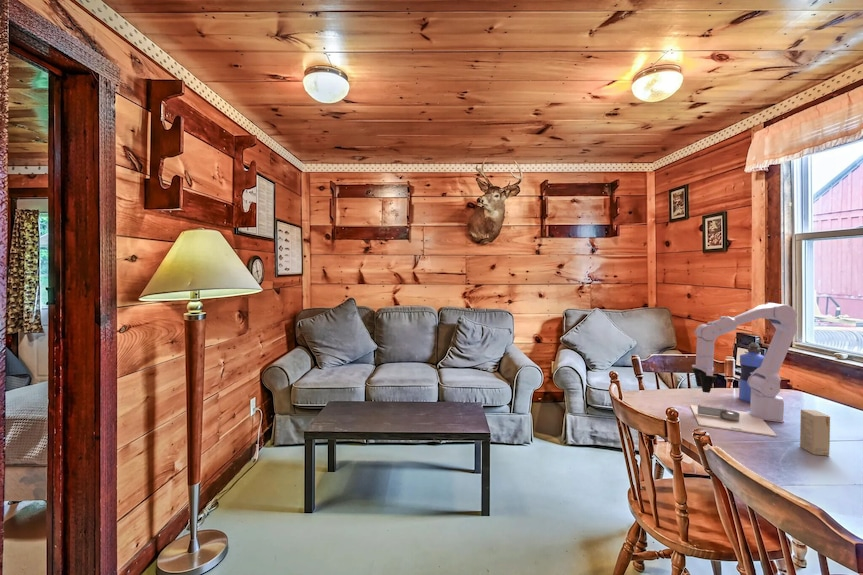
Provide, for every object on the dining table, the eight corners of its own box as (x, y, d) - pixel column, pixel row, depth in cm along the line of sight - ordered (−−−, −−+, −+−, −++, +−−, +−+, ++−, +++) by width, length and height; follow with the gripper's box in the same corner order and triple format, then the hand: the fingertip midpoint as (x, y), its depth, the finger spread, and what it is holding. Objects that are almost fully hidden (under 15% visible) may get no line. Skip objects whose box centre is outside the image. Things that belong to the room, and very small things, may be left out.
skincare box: (830, 456, 120) (832, 417, 120) (813, 455, 121) (815, 416, 120) (814, 446, 127) (816, 409, 126) (798, 445, 127) (800, 408, 127)
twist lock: (737, 416, 150) (737, 408, 150) (741, 422, 145) (741, 413, 145) (696, 411, 156) (696, 403, 156) (698, 416, 150) (699, 408, 150)
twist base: (757, 414, 154) (757, 413, 154) (776, 436, 134) (776, 435, 134) (690, 406, 163) (690, 404, 163) (699, 425, 144) (699, 423, 144)
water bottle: (772, 404, 166) (774, 345, 164) (749, 404, 166) (751, 345, 164) (754, 396, 175) (756, 341, 174) (733, 396, 175) (735, 341, 174)
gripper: (688, 350, 163) (686, 383, 163) (698, 358, 149) (696, 393, 150) (708, 352, 160) (706, 385, 161) (720, 360, 147) (718, 395, 147)
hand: (703, 389), depth 155 cm, fingers open, 7 cm apart
